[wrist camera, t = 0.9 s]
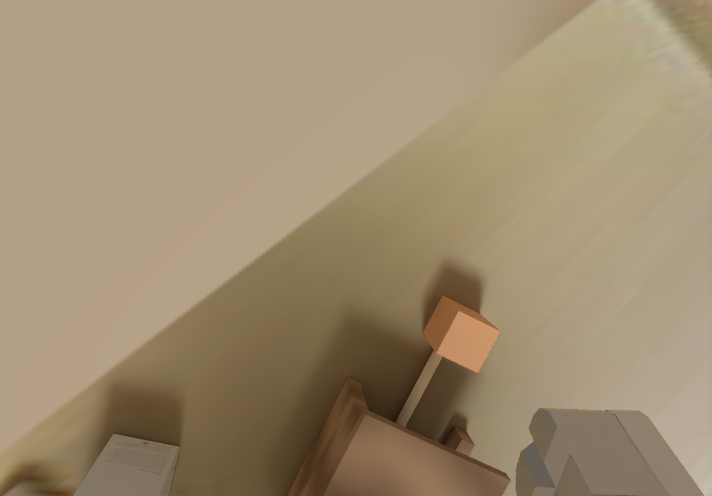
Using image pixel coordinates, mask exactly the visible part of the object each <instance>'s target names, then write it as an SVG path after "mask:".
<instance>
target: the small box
mask: <svg viewBox="0 0 712 496" xmlns="http://www.w3.org/2000/svg"><path fill="white" fill-rule="evenodd" d="M179 449H180V447H178V446H173V445H168V444H163V443H158V442H153V441H148V440H143V439H138V438H133V437H128V436H123V435H118V434H113V435H112V437H111V438H110V440H109V441H108V443H107V444H106V446H105V447H104V449H103V450H102V452H101V453H100V455H99V456H98V458H97V459H96V461H95V462H94V464H93V465H92V467H91V468H90V470H89V471H88V473H87V474H86V476H85V477H84V479H83V480H82V482H81V483H80V485H79V486H78V488H77V489H76V491H75V492H74V494H73V495H72V496H169V492H170V487H171V483H172V479H173V474H174V470H175V466H176V462H177V457H178V453H179Z"/></svg>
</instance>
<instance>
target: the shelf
mask: <svg viewBox="0 0 712 496" xmlns="http://www.w3.org/2000/svg"><path fill="white" fill-rule="evenodd" d="M473 447H474V443H473V441H472V440H471V438H470V436H469V435H468V433H467V432H466V431H464V430H462V429H460V428H458V427H455V426H454V428H453V430H452V432H451V433H450V435H449V437H448V439H447V441H446V443H445V445H443V444H441V443H438V442H436V441H434V440H432V439H430V438H427V437H425V436H423V435H421V434H419V433H416V432H414V431H412V430H410V429H408V428H405V427H403V426H401V425H399V424H397V423H395V422H392V421H390V420H388V419H386V418H384V417H381V416H379V415H377V414H375V413H373V412H370V411H368V407H367V404H366V400H365V396H364V392H363V388H362V385H361V383H360V382H358V381H356V380H354V379H352V378H350V377H348V378H347V380H346V382H345V384H344V386H343V388H342V390H341V392H340V394H339V396H338V397H337V399H336V401H335V403H334V405H333V407H332V409H331V411H330V413H329V415H328V417H327V419H326V421H325V423H324V424H323V426H322V428H321V430H320V432H319V434H318V436H317V438H316V440H315V442H314V444H313V446H312V448H311V450H310V451H309V453H308V455H307V457H306V459H305V461H304V463H303V465H302V467H301V469H300V471H299V473H298V475H297V477H296V478H295V480H294V482H293V484H292V486H291V488H290V490H289V492H288V494H287V496H502V495H503V493H504V491H505V489H506V488H507V486H508V484H509V482H510V479H509V477H508V476H507V474H506V473H504V472H502V471H500V470H497V469H495V468H493V467H491V466H489V465H487V464H484V463H482V462H480V461H478V460H476V459H473V458H471V457H469V454H470V452H471V450H472V449H473Z"/></svg>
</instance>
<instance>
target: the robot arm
mask: <svg viewBox="0 0 712 496" xmlns="http://www.w3.org/2000/svg"><path fill="white" fill-rule="evenodd" d="M529 430H530V433H531V435H532V437H533V440H534V442H533V443H531V444H530V445H529V446H528V447H526V448H525V449H524V450H523V451H521V454H520V457H519V461H518V464H517V468H516V493H517V496H704V495H703V493H702V492H701V490H700V489H699V488H698V486H697V485H696V483H695V482H694V481H693V479H692V478H691V476H690V475H689V474H688V472H687V471H686V469H685V468H684V467H683V465H682V464H681V462H680V461H679V460H678V458H677V457H676V455H675V454H674V453H673V451H672V450H671V448H670V447H669V446H668V444H667V443H666V441H665V440H664V439H663V437H662V436H661V434H660V433H659V432H658V430H657V429H656V427H655V426H654V425H653V423H652V422H651V420H650V419H649V417H647V416H646V415H645V414H643V413H642V412H640V411H628V410H605V411H601V410H579V409H554V408H539V409H538V411H537V412H536V413H535V414H534V415H533V418H532V421H531V424H530V427H529Z"/></svg>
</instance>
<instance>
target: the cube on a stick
mask: <svg viewBox="0 0 712 496" xmlns="http://www.w3.org/2000/svg"><path fill="white" fill-rule="evenodd" d="M499 333H500V331H499V330H498V329H497V328H496V327H495V326H494V325H492V324H491V323H490V322H489V321H488V320H487V319H486V318H484V317H483V316H482V315H481V314H480V313H478V312H476V311H474V310H472V309H470V308H468V307H466V306H463V305H461V304H459V303H457V302H455V301H453V300H451V299H449V298H447V297H445V296H443V295H442V297H441V299H440V301H439V303H438V304H437V306H436V308H435V310H434V312H433V314H432V316H431V318H430V320H429V322H428V323H427V325H426V327H425V329H424V331H423V335H424V336H425V338H426V339H427V341H428V342H429V344H430V345H431V346H432V348H433V349H434V350H433V352H432V354H431V356H430V358H429V360H428V362H427V364H426V365H425V367H424V369H423V371H422V373H421V375H420V377H419V379H418V381H417V382H416V384H415V386H414V388H413V390H412V392H411V394H410V396H409V397H408V399H407V401H406V403H405V405H404V407H403V409H402V411H401V413H400V414H399V416H398V418H397V420H396V422H395V423H397V424H399V425H401V426H403V427H406V425H407V423H408V421H409V419H410V417H411V415H412V413H413V411H414V410H415V408H416V406H417V404H418V402H419V400H420V398H421V396H422V395H423V393H424V391H425V389H426V387H427V385H428V383H429V381H430V380H431V378H432V376H433V374H434V372H435V370H436V368H437V366H438V365H439V363H440V361H441V359H442V357H445V358H447V359H449V360H451V361H453V362H455V363H457V364H460V365H462V366H464V367H466V368H468V369H470V370H472V371H474V372H476V373H478V372H479V370H480V368H481V366H482V365H483V363H484V361H485V359H486V357H487V355H488V353H489V352H490V350H491V348H492V346H493V344H494V342H495V340H496V339H497V337H498V335H499Z"/></svg>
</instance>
